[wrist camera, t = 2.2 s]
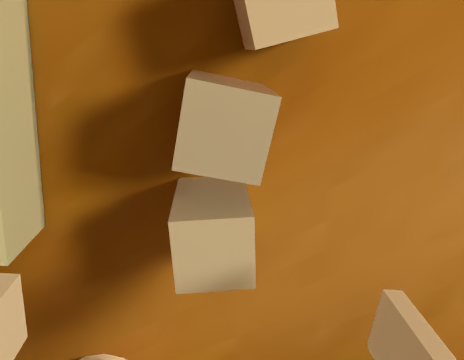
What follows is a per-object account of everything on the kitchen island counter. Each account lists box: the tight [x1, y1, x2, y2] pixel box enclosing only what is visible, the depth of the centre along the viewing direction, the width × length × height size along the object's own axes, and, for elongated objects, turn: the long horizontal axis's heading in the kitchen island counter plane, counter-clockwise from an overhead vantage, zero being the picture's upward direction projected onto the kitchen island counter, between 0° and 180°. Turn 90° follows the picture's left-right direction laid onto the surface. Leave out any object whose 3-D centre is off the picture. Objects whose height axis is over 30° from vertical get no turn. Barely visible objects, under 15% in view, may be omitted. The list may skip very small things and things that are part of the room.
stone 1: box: [172, 69, 282, 186], centre depth 18 cm, size 4×4×6 cm
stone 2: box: [168, 177, 256, 294], centre depth 20 cm, size 4×4×6 cm
